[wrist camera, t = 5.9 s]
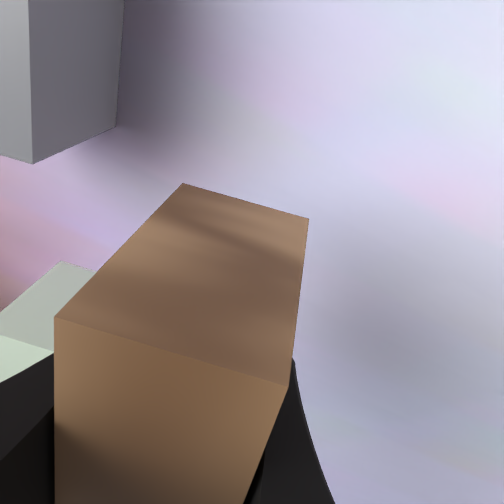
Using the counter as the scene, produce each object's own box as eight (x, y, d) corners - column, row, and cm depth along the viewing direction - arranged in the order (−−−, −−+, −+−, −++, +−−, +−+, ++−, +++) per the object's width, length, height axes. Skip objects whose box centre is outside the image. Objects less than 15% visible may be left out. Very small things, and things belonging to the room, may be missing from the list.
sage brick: (60, 365, 27) (-7, 447, 21) (61, 259, 23) (-20, 328, 18) (112, 381, 27) (58, 468, 21) (123, 278, 23) (60, 353, 17)
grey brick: (42, 104, 19) (-70, 134, 14) (38, -124, 15) (-119, -204, 10) (116, 126, 19) (32, 164, 14) (132, -99, 15) (23, -167, 10)
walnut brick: (150, 388, 15) (55, 576, 10) (182, 182, 11) (53, 316, 6) (243, 416, 15) (196, 622, 10) (309, 219, 11) (288, 387, 6)
